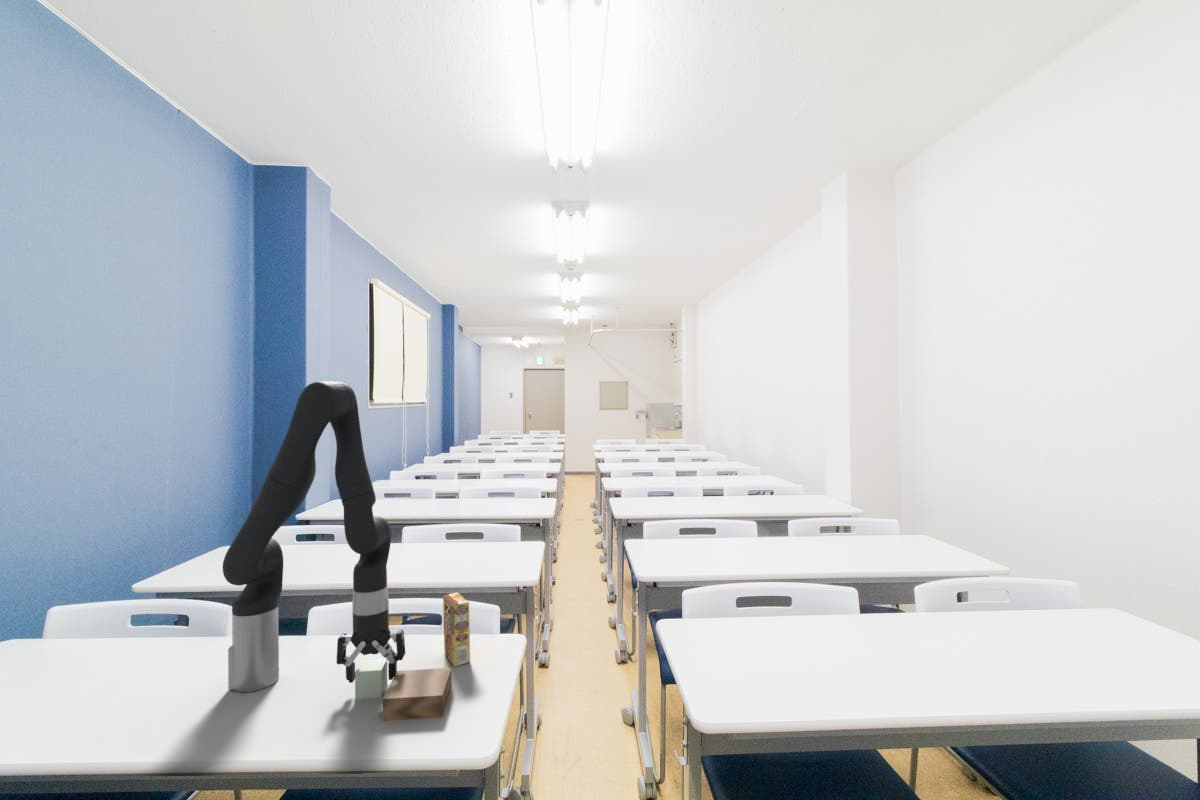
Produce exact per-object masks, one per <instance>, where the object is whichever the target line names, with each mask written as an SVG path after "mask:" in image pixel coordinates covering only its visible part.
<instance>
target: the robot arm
mask: <svg viewBox="0 0 1200 800" xmlns="http://www.w3.org/2000/svg"><path fill="white" fill-rule="evenodd" d="M329 424H330V425H331V428H332V430H333V433H334V436H335V443H336V456H335V465H334V479H335V483H336V487H337V489H338V494H339V497H340V500H341V504H342V506H343V526H344V527H343V528H344V536H345V540H346V542H347V544H348V546H349V548H350V550H352V551H353V552H354V553H356V554H359V559H358V561H357V562H356V564H355V565H354V567H353V574H352V576H353V577H352V579H353V580H352V582H353V587H352V588H353V595H352V604H351V605H352V634H349V635H348V634H347V633H345V632H343V633H341V635H340V636H339V637H338V638H337V643H336V644H337V646H336V664H337V665H344V666H345V679H346V681H348V683H349V684H350V683H351V684H352V683H354V682H355V672H356V662H354V661H355V659H357V657H358V656H359V654H361V655H362V656H366V655H370V654H371V655H378V654H380V655H382V657H384V659H387V662H388V663H387V673H388V680H389V681H392V680H393V678H394V676H395V674H396V672H397V671H398V669H397V668H398V665H397V664H398V661H402V660H403V659H404V656H405V655H406V645H405V632H404V630H403V629H399V630H398V631H395V632H394V631H393V632H391V631H390V625H389V624H390V619H389V617H390V616H389V615H390V614H389V605H390V600H389V591H388V570H387V566H388V565H387V564H388V560H389V554H390V549H391V544H392V543H391V541H392V534H391V533H392V532H391V528H390V524H389V522H387V520H386V519H385V518H383V517H380V516H374V513H373V506H374V505H375V504H376V501H377V499H376V493H375V490H374V486H373V482H372V480H371V476H370V473H369V469H368V466H367V462H366V461H367V460H366V457H365V456H366V455H365V452H364V446H363V437H362V432H361V431H362V430H361V424H360V414H359V406H358V401H357V395H356V393H355V391H354V390H353V388H352V387H351V386H350V385H349V384H347V383H345V382H344V381H343V382H342V381H329V380H328V381H326V380H325V381H324V380H323V381H314V382H312V383H309V384H308V385H307V386H305V388H304V389H303V390H302V392H301V393H300V395H299V397H298V399H297V403H296V404H295V407H294V411H293V415H292V417H291V420H290V424H289V426H288V429H287V431H286V434H285V437H284V439H283V441H282V443H281V445H280V447H279V450H278V453H277V455H276V456H275V458H274V460H273V463H272V465H271V467H270V469H269V471H268V473H267V474H266V477H265V479H264V482H263V484H262V486H261V488H260V491H259V492H258V493H259V494H258V495H257V497H256V499H255V501H254V503H253V506H252V507H251V509H250V511H249V513H248V516H247V517H246V519H245V521H244V524H243V525H242V527H241V528H240V530H239V532H238V533H237V535H236V536H235V538H234V539H233V541H232V542H231V544H230V546H229V547H228V549H227V552H226V553H225V555H224V558H223V562H222V573H223V578H224V579H225V580H226V582H227V583H229V584H231V585H233V586H245V587H244V588H243V590H242V591H241V592H240V593H239V594H238V595H237V596H236V597H235V598H234V599H233V601H232V605H231V616H232V617H231V621H232V622H231V624H232V625H231V626H232V631H231V633H232V635H231V636H232V637H231V638H232V641H231V642H232V645H230V646H229V648H228V649H227V651H228V652H227V663H228V664H227V670H228V672H227V674H228V678H227V679H228V681H227V682H228V683H227V684H228V691H234V692H238V693H250V692H251V693H252V692H255V691H260V690H263V689H266V688H268V687H270V686H272V685H273V684H275V683H276V682H278V680H279V677H280V652H279V651H280V649H279V648H280V646H279V644H280V643H279V641H280V639H279V637H280V635H279V633H280V632H279V598H280V596H281V594H282V592H283V591H282V590H283V579H284V578H283V577H284V555H283V550H282V547H281V545H280V543H279V542H278V541H277V540H276V539H274V538H273V536H274V535H275V533H277V531H278V530H279V529H280V528H281V527H282V526H284V525H283V524H285V523H286V522H287V521H288V519H289V518H291V517H292V515H294V513H295V512H297V510H298V509H299V508H300V506H301V505H302V504H303V502H304V501H305V500H306V497H307V494H308V493H309V491H310V490H311V487H312V484H313V483H314V480H315V477H316V471H317V470H316V469H317V465H316V464H317V463H316V449H317V445H318V443H319V441H320V438H321V436H322V434H323V433H324V431H325V429H326V428H327V426H328V425H329ZM390 639H392V640H393V643H395V645H396V652H395V650H394V649H393V647H392V646H391V644H390V642H389V641H390ZM350 642H351V643H352V644H353V646H354V647H355V649H354V650H353V651H352V653H351V654H350V655H349V656H347V646H348V645H349V644H350Z"/></svg>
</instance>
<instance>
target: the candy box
mask: <svg viewBox="0 0 1200 800" xmlns="http://www.w3.org/2000/svg"><path fill="white" fill-rule="evenodd" d="M442 597H443V598H442V599H443V603H442V604H443V639H444V641H443V645H444V655H445V656H446V657H447V658H448V660H449V661H450V662H451V663H452V665H454V667H458V666H462V665H465V664H470V663H471V645H470V644H471V642H470V641H471V639H470V633H471V632H470V601H468V599H466V598H464V596H463V595H461V594H460V593H459V592H453V593H448V594H444V595H443V596H442Z"/></svg>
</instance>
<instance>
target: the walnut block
mask: <svg viewBox="0 0 1200 800" xmlns="http://www.w3.org/2000/svg"><path fill="white" fill-rule="evenodd" d="M452 672H453V671H452V667H442V668H426V669H425V668H424V669H422V668H421V669H409V670H408V669H407V670H397V672H396V674H395V676H394V677H393V679H392V680H391V682H390V684H389V686H388V688H387V689H386V692H385V693H384V694H383V695H384V696H383V698H382V722H391V721H392V722H394V721H408V720H409V721H410V720H422V719H423V720H425V719H439V718H443V717H444V714H445V711H446V707H447V705H448V701H449V697H450V695H451V691H452V686H453V685H452V684H453V683H452V680H453V679H452Z"/></svg>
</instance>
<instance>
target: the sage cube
mask: <svg viewBox="0 0 1200 800" xmlns="http://www.w3.org/2000/svg"><path fill="white" fill-rule="evenodd" d="M354 685H355V686H354V689H355V690H354V696H355V697H354V699H355V700H361V699H362V700H363V699H376V698H382V696H383V695H384V694H385V693H384V692H385V691H384V690H386V689H387V687H386V686H388V660H387V659H386V658H384V659H370V660H369V659H368V660H362V661H361V662H360V664H359V665H358V667H357V669H355V680H354ZM385 688H386V689H385Z"/></svg>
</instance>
